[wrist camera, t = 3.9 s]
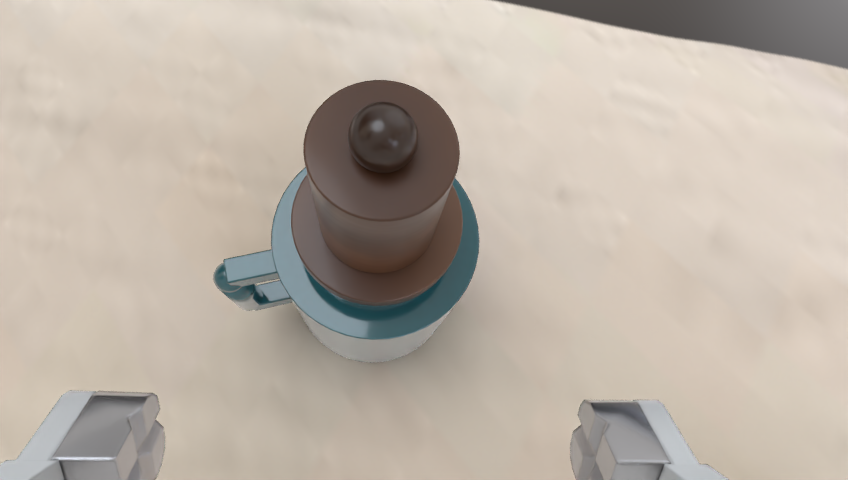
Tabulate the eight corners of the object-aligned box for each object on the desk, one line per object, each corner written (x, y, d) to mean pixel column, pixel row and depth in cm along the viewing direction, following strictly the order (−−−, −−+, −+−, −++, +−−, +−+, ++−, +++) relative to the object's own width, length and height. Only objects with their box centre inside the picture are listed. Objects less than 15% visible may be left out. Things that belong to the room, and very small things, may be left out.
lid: (436, 135, 25) (471, -2, 17) (479, 285, 23) (540, 212, 15) (279, 164, 24) (235, 32, 16) (310, 323, 22) (279, 267, 14)
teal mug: (427, 202, 36) (454, 109, 26) (465, 342, 34) (512, 305, 23) (237, 241, 35) (178, 158, 24) (263, 392, 32) (211, 377, 21)
